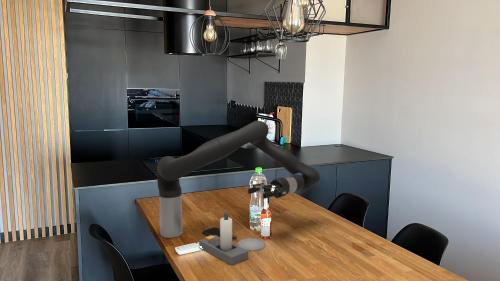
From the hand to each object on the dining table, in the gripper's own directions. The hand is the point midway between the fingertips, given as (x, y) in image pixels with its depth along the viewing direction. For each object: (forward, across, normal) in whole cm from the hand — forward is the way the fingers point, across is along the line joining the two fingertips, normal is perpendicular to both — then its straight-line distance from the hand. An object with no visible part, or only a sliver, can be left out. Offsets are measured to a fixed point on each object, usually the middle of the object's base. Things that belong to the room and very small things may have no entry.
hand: (255, 193), depth 156 cm
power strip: (+15, -2, +21) cm, 26 cm away
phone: (+6, -16, +21) cm, 27 cm away
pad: (+2, 0, +21) cm, 21 cm away
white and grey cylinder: (+15, 0, +21) cm, 26 cm away
